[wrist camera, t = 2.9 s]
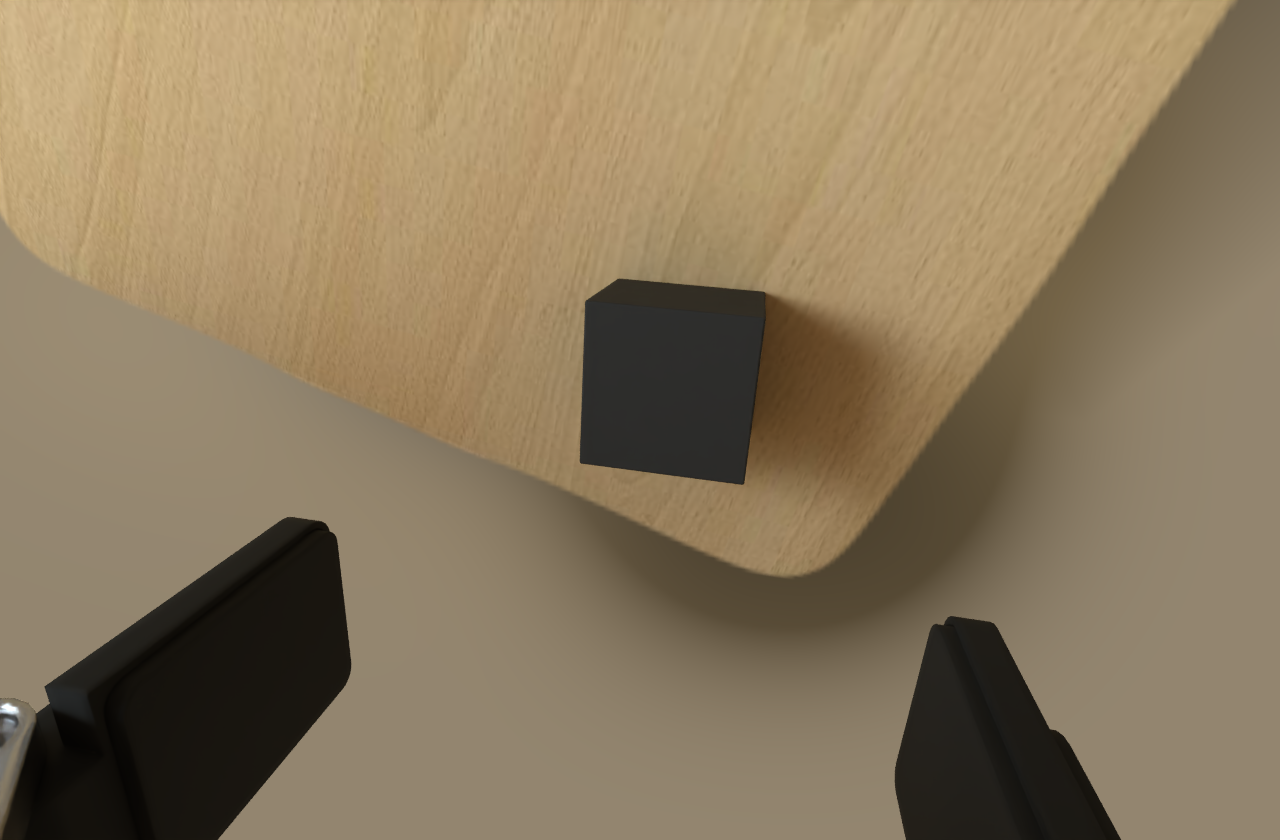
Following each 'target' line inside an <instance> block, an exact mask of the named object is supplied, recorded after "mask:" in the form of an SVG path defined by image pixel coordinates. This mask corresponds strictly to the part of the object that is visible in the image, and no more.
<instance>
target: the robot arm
mask: <svg viewBox="0 0 1280 840" xmlns="http://www.w3.org/2000/svg"><path fill="white" fill-rule="evenodd" d="M350 671H351V657H350V648H349V640H348V631H347V622H346V613H345V605H344V596H343V588H342V578H341V569H340V561H339V552H338V543H337V538H336V536H335V534H333V533H332V532H330V531H329V528H328V526H327V525H326V524H325V523H323V522H322V521H315V520H308V519H301V518H295V517H287V518H285V519H283V520H281V521H279V522H278V523H277V524H275V525H274V526H272V527H271V528H270V529H268V530H267V531H265V532H264V533H262V534H261V535H260V536H258V537H257V538H255V539H254V540H253V541H251V542H250V543H248V544H247V545H245V546H244V547H243V548H241V549H240V550H239V551H237V552H235V553H234V554H233V555H231V556H230V557H228V558H227V559H225V560H224V561H223V562H221V563H220V564H218V565H217V566H215V567H214V568H213V569H211V570H210V571H208V572H207V573H206V574H204V575H203V576H201V577H200V578H199V579H197V580H196V581H194V582H193V583H191V584H190V585H189V586H187V587H186V588H184V589H183V590H181V591H180V592H178V593H177V594H176V595H174V596H173V597H171V598H170V599H168V600H167V601H166V602H164V603H163V604H161V605H160V606H159V607H157V608H156V609H154V610H153V611H151V612H150V613H149V614H147V615H146V616H144V617H143V618H142V619H140V620H139V621H137V622H136V623H134V624H133V625H132V626H130V627H129V628H127V629H126V630H124V631H123V632H122V633H120V634H119V635H117V636H116V637H114V638H113V639H112V640H110V641H109V642H107V643H106V644H104V645H103V646H102V647H100V648H99V649H97V650H96V651H94V652H93V653H92V654H90V655H89V656H87V657H86V658H85V659H83V660H82V661H80V662H79V663H77V664H76V665H75V666H73V667H72V668H70V669H69V670H68V671H66V672H65V673H63V674H62V675H60V676H59V677H57V678H56V679H55V680H53V681H52V682H51V683H49V684H48V685H46V686H45V689H46V693H47V696H48V699H49V702H50V704H49V705H47V706H46V707H45V708H43V709H42V710H41V711H39V712H38V713H35V710H34V709H33V708H32V707H31V706H30V705H29V703H27V702H24V701H21V700H18V699H14V698H0V840H218V839H219V837H220V836H221V835H222V834H223V833H224V831H225V830H226V829H227V828H228V826H229V825H230V824H231V823H232V822H233V820H234V819H235V818H236V817H237V815H239V813H240V812H241V811H242V810H243V808H244V807H245V806H246V805H247V804H248V802H249V801H250V800H251V799H252V798H253V796H254V795H255V794H256V793H257V792H258V790H259V789H260V788H261V787H262V786H263V784H264V783H265V782H266V781H267V780H268V778H269V777H270V776H271V775H272V774H273V772H274V771H275V770H276V769H277V768H278V766H279V765H280V764H281V763H282V762H283V760H284V759H285V758H286V757H287V755H288V754H289V753H290V752H291V750H292V749H293V748H294V747H295V746H296V745H297V743H298V742H299V741H300V740H301V739H302V737H303V736H304V735H305V734H306V733H307V731H308V730H309V729H310V728H311V727H312V725H313V724H314V723H315V722H316V721H317V719H318V718H319V717H320V716H321V715H322V713H323V712H324V711H325V709H326V708H327V707H328V706H329V705H330V704H331V702H332V701H333V700H334V699H335V698H336V696H337V695H338V694H339V692H341V690H342V689H343V688H344V686H345V685H346V683H347V680H348V678H349V675H350ZM895 788H896V795H897V800H898V804H899V809H900V814H901V819H902V823H903V828H904V833H905V837H906V840H1121V839H1120V837H1119V835H1118V834H1117V831H1116V830H1115V828H1114V826H1113V824H1112V822H1111V820H1110V818H1109V817H1108V815H1107V813H1106V811H1105V809H1104V807H1103V805H1102V803H1101V802H1100V800H1099V798H1098V796H1097V794H1096V792H1095V791H1094V789H1093V787H1092V785H1091V783H1090V781H1089V779H1088V778H1087V776H1086V774H1085V772H1084V770H1083V768H1082V766H1081V765H1080V763H1079V761H1078V760H1077V757H1076V755H1075V754H1074V752H1073V750H1072V748H1071V746H1070V745H1069V743H1068V742H1067V740H1066V739H1065V737H1064V736H1063V735H1062V734H1060V733H1059V732H1057V731H1056V730H1050V729H1049V727H1048V725H1047V723H1046V721H1045V719H1044V717H1043V715H1042V713H1041V712H1040V710H1039V708H1038V706H1037V704H1036V702H1035V700H1034V698H1033V696H1032V694H1031V692H1030V690H1029V689H1028V686H1027V685H1026V683H1025V681H1024V679H1023V677H1022V675H1021V673H1020V671H1019V670H1018V667H1017V665H1016V663H1015V661H1014V659H1013V657H1012V656H1011V654H1010V652H1009V650H1008V648H1007V646H1006V644H1005V642H1004V640H1003V638H1002V636H1001V634H1000V632H999V630H998V629H997V627H996V626H995V624H994V623H991V622H987V621H980V620H974V619H967V618H961V617H954V616H950V617H948V618H947V620H946V621H945V624H944V625H938V624H935V625H933V626H932V628H931V630H930V633H929V637H928V641H927V645H926V649H925V653H924V656H923V660H922V664H921V668H920V672H919V676H918V680H917V684H916V688H915V692H914V695H913V699H912V703H911V707H910V711H909V715H908V719H907V723H906V727H905V731H904V735H903V738H902V743H901V747H900V750H899V754H898V758H897V762H896V767H895Z"/></svg>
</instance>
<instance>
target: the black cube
mask: <svg viewBox="0 0 1280 840" xmlns="http://www.w3.org/2000/svg"><path fill="white" fill-rule="evenodd" d="M765 321H766V310H765V292H759V291H748V290H737V289H726V288H715V287H704V286H693V285H682V284H671V283H660V282H650V281H639V280H628V279H617V280H616V281H614V282H613V283H611V284H610V285H608V286H607V287H606V288H604V289H603V290H601V291H600V292H598V293H597V294H595V295H594V296H592V297H591V298H589V299H588V300H586V302H585V325H584V354H583V383H582V411H581V440H580V463H582V464H589V465H597V466H604V467H612V468H620V469H627V470H635V471H642V472H650V473H657V474H665V475H673V476H680V477H688V478H695V479H703V480H710V481H718V482H726V483H733V484H741V485H743V484H744V481H745V473H746V466H747V458H748V450H749V443H750V435H751V428H752V420H753V412H754V405H755V397H756V389H757V382H758V374H759V367H760V359H761V351H762V344H763V336H764V328H765Z"/></svg>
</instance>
